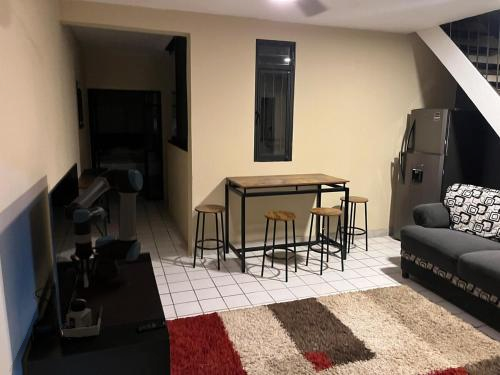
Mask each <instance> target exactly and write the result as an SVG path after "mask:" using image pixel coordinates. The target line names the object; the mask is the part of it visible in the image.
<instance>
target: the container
mask: <svg viewBox="0 0 500 375" xmlns="http://www.w3.org/2000/svg"><path fill="white" fill-rule="evenodd" d="M70 309H71V312H70V311H69V312H70V313H69V312H68V313H67V314H66V315H65V316H66V321H67V325H68V326H70V327H72V328H81V327H86V326H89V327H90V326H92V320H93V319H92V309H91V308H87V301H86V300H85V299H83V298H77V299H74V300H72V301H71V302H70Z"/></svg>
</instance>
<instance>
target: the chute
mask: <svg viewBox="0 0 500 375" xmlns="http://www.w3.org/2000/svg"><path fill="white" fill-rule="evenodd" d="M99 307H100V308H99V312H98V320H97V325H90V326H89V327H81V328H72V329H64V328H63V329H62V330H63V335H64V336H65V337H76V338H83V337H84V336H85V337H93V336H99V335H100V328H101V321H102V315H103V305H101V306H99ZM69 312H71V308H70V309H69Z"/></svg>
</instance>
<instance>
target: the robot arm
mask: <svg viewBox="0 0 500 375" xmlns="http://www.w3.org/2000/svg"><path fill="white" fill-rule="evenodd" d="M143 186H144V179H143V175H142V173H141V172H140V171H139V170H136V169H125V168H111V169H108V170H105V171H104V172H102V173H101V174H98V175H97V177H94V179H93V183H91V184H90V185H89V186H88V187H87V188H86V189H85V190H84V191H82V193H80V195H78V196H77V197H76V198H75V199H74V200H73V201H72V202H71V203H70V204H69V205H64V206H65V209H64V217H65V221H64V222H72V223H73V230H74V231H73V232H74V233H73V234H74V248H75V251H74V253H73V254H71V255H70V257H69V259H70V260H71V261H72V264H73V266H74V269H75V272H76V274H77V275H80V276H81V278H80V279H81V281H82V282H83V285H84V288H88V287H89V281H90V280H91V274H93V277H94V278H96V279H99V280H101V279H102V280H105V279H112V278H115V277H116V276H119V275H120V273H121V272H120V267H119V264H118V262H117V260H118V261H120V260H121V261H127V262H128V261H130V262H131V261H132V262H134V261H136V260H137V259H138V258H139V255H140V253H141V248H142V243H141V242H140V241H138V236H136V208H137V206H136V205H137V195H138V194H139V192H140V191H141V190H142V188H143ZM110 189H117V193H118V194H119V195H120V206H119V209H120V210H119V212H120V213H119V214H120V215H119V236H117V238H116V235H104V236H100V237H99V238H96V240H95V242H94V249H93V241H92V239H93V238H92V226H94V225H95V224H98V223H100V222H101V221H102V220H104V218H105V217H106V211H105V210H104V208H103V207H101V206H94V207H92V208H91V207H90V206H92V204H93V203H94V202H95V201H96V200H97V199H98V198H99V197H100V196H101V195H102V194H103V193H105V192H108V190H110ZM91 257H93V258H92V259H93V260H92V263H91V266H90V258H91ZM77 259H79V263H80V266H79V264H78V261H77ZM84 261H85V262H84ZM84 264H85V265H84ZM85 266H86V267H85ZM90 267H91V268H90ZM85 268H86V272H85Z"/></svg>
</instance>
